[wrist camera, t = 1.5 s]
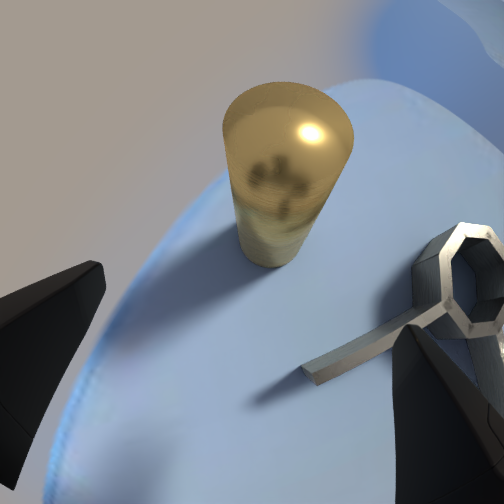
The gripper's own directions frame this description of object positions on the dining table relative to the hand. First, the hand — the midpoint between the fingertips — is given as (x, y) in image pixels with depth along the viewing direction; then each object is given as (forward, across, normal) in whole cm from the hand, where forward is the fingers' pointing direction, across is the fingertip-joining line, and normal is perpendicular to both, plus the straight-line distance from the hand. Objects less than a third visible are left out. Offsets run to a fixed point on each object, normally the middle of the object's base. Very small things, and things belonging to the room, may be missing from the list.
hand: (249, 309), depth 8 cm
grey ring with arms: (+8, -16, +9) cm, 20 cm away
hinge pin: (+13, 0, +4) cm, 14 cm away
